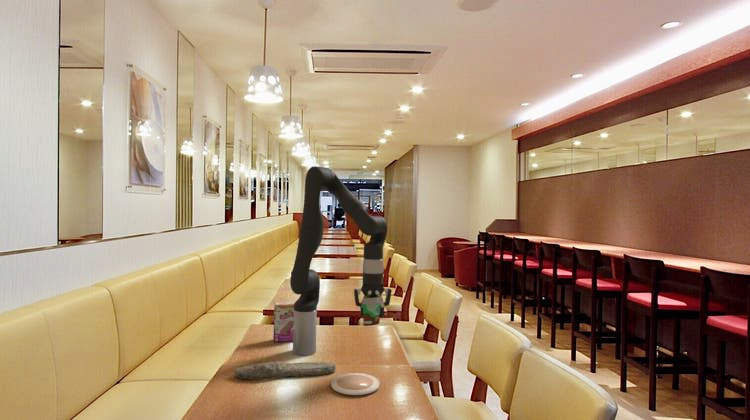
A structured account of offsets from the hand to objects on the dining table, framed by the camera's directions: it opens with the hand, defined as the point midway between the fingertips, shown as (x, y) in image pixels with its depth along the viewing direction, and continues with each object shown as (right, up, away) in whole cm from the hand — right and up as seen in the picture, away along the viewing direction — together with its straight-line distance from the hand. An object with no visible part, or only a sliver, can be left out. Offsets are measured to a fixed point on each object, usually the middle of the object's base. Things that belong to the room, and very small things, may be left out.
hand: (372, 317), depth 161 cm
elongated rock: (-30, -20, -4) cm, 36 cm away
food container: (+1, -2, 0) cm, 2 cm away
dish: (-5, -20, -14) cm, 25 cm away
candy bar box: (-38, -19, +34) cm, 54 cm away
